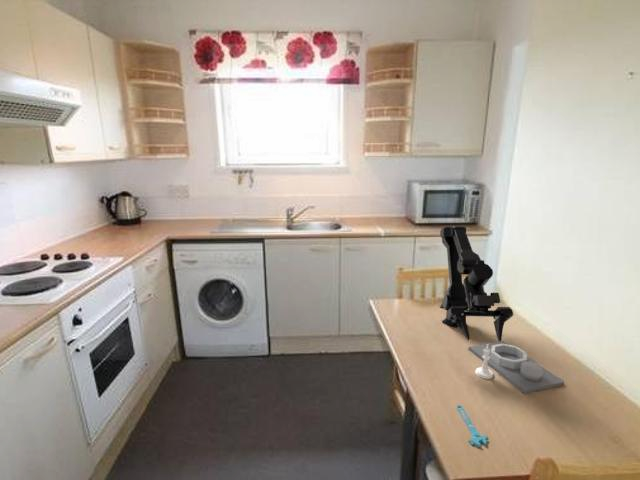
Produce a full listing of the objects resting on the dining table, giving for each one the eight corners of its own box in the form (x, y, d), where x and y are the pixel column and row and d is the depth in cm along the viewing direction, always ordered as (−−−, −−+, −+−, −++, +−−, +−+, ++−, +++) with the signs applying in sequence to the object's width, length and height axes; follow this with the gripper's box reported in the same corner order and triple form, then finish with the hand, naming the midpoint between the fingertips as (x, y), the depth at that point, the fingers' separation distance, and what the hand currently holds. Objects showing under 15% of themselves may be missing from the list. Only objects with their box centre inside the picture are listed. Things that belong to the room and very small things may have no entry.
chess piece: (474, 376, 110) (477, 346, 108) (476, 367, 114) (479, 338, 112) (492, 380, 108) (496, 350, 106) (493, 371, 112) (497, 342, 110)
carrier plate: (468, 349, 125) (469, 338, 124) (502, 343, 128) (503, 332, 127) (524, 393, 102) (526, 381, 101) (563, 384, 106) (566, 372, 105)
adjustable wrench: (493, 444, 84) (472, 445, 84) (493, 448, 84) (471, 449, 84) (467, 403, 98) (448, 404, 98) (467, 406, 98) (448, 407, 98)
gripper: (452, 282, 113) (460, 332, 105) (514, 282, 112) (527, 333, 104) (443, 296, 122) (450, 342, 114) (501, 296, 121) (512, 344, 113)
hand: (484, 340), depth 111 cm, fingers open, 9 cm apart
